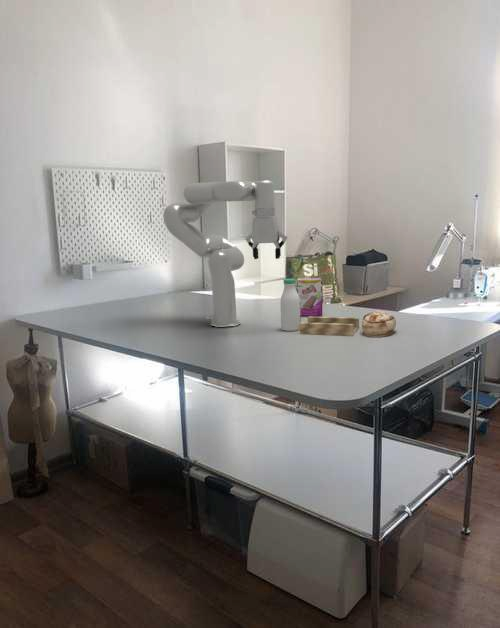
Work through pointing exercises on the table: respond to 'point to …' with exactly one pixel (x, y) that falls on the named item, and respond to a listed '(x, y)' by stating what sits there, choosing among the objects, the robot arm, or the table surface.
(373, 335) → the bowl of food
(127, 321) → the table surface
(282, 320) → the milk bottle
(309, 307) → the candy bar box
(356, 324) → the brown rectangular tray
